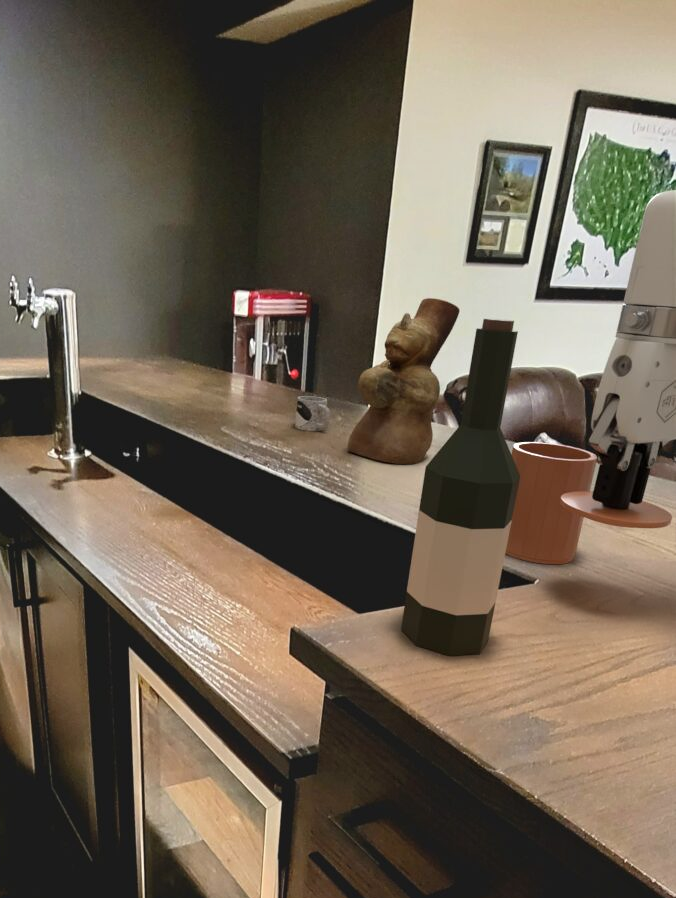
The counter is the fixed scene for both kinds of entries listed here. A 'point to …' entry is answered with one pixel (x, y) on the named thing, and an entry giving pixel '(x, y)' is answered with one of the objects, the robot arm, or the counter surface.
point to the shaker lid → (618, 516)
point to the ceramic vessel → (404, 388)
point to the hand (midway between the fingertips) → (616, 500)
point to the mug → (312, 413)
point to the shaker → (547, 501)
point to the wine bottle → (466, 511)
